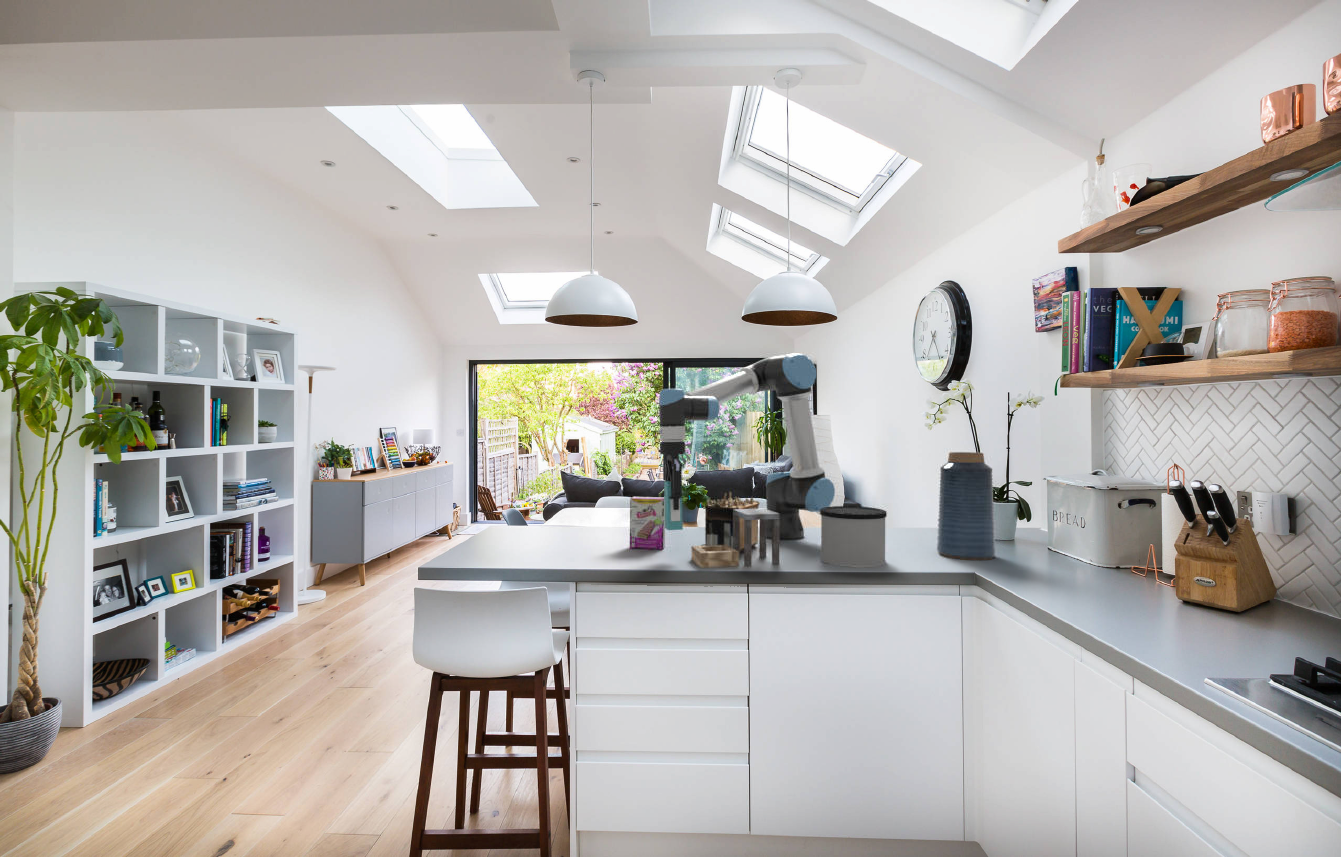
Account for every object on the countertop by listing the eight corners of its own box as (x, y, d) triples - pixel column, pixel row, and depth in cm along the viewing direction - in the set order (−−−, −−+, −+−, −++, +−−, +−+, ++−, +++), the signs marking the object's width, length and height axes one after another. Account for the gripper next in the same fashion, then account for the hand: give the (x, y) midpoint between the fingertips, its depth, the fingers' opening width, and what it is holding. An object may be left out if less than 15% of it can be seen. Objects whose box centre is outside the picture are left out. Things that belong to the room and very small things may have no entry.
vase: (994, 552, 200) (994, 452, 200) (996, 562, 186) (996, 454, 186) (938, 548, 207) (938, 451, 207) (935, 557, 193) (936, 453, 192)
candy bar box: (629, 549, 205) (629, 498, 205) (631, 546, 210) (631, 496, 210) (663, 549, 204) (664, 498, 204) (665, 547, 209) (665, 496, 209)
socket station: (764, 556, 194) (764, 508, 194) (779, 564, 182) (779, 513, 182) (691, 559, 189) (691, 510, 189) (701, 567, 177) (701, 515, 177)
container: (815, 564, 183) (815, 512, 183) (824, 552, 201) (824, 504, 201) (884, 569, 176) (884, 515, 176) (888, 556, 194) (888, 507, 194)
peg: (679, 527, 192) (678, 480, 192) (682, 529, 188) (681, 482, 187) (664, 527, 191) (664, 481, 191) (668, 530, 187) (667, 482, 186)
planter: (780, 557, 193) (780, 495, 194) (698, 557, 192) (698, 495, 192) (762, 544, 218) (762, 489, 219) (689, 545, 216) (689, 489, 217)
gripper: (654, 440, 197) (655, 515, 197) (666, 442, 180) (667, 524, 180) (678, 439, 198) (679, 514, 199) (692, 441, 181) (693, 523, 182)
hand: (673, 519), depth 189 cm, fingers closed on peg, 4 cm apart
